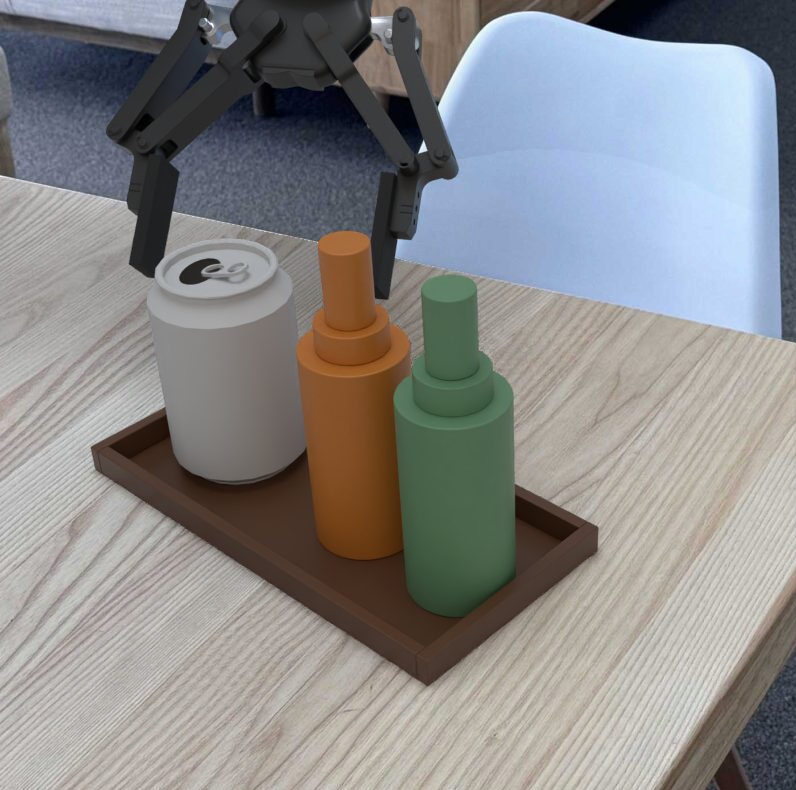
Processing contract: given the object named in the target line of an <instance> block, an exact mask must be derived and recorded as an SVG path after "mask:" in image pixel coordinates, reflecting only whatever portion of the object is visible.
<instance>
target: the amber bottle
mask: <svg viewBox="0 0 796 790" xmlns="http://www.w3.org/2000/svg"><path fill="white" fill-rule="evenodd" d="M370 241H371V238H370V237H369V236H368V235H366V234H365V233H362V232H359V231H354V230H340V231H339V230H338V231H334V232H330V233H328V234H325V235H324V236H322V237H321V238H320V239H319V240H318V242H317V246H316V247H317V256H318V265H319V275H320V286H321V295H322V296H321V297H322V306H323V307H322V308H320V309H319V310H318V311H316V312H315V314H314V316H313V317H312V320H311V326H312V329H310V330H308V331H307V332H306V333H305V334H303V336H302V337H301V338H299V343H298V345H297V348H296V359H297V368H298V376H299V385H300V394H301V402H302V411H303V420H304V429H305V437H306V446H307V455H308V463H309V472H310V481H311V490H312V498H313V507H314V516H315V524H316V533H317V537H318V539H319V541H320V542H321V544H322V545H323V546H324V547H325V548H326V549H327V550H329V551H330V552H332V553H334V554H336V555H338V556H341V557H344V558H348V559H354V560H373V559H380V558H384V557H388V556H391V555H393V554H396V553H398V552H400V551H402V550H403V549H404V545H403V531H402V517H401V502H400V488H399V474H398V460H397V446H396V432H395V418H394V404H393V397H394V393H395V390H396V388H397V387H398V385H399V384H400V383H401V382H402V381H403V380H404V379H405V378H406V377H408V376H409V375H411V374H412V354H411V353H412V352H411V341H410V339H409V337H408V335H407V334H406V332H405V331H404V330H403V329H402V328H400V327H399V326H397V324H394V323H391V322H390V314H389V312H388V310H387V309H386V308H384V307H383V306H382V305H380V304H379V303H376V299H375V294H374V280H373V267H372V254H371V242H370Z"/></svg>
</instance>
